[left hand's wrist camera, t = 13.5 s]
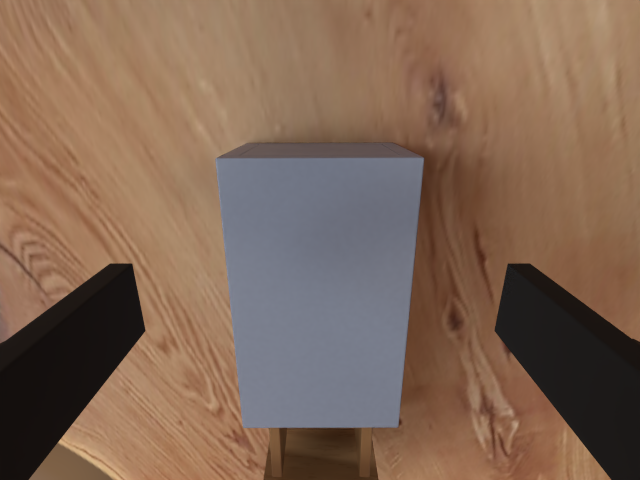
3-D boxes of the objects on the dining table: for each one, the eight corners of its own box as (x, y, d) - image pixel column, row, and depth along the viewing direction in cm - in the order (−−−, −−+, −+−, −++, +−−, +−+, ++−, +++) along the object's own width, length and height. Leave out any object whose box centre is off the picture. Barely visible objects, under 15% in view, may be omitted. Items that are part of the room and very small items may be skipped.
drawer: (367, 480, 36) (376, 551, 31) (274, 480, 36) (265, 551, 31) (379, 280, 28) (394, 325, 23) (261, 280, 29) (246, 325, 23)
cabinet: (379, 351, 32) (398, 427, 24) (261, 351, 32) (242, 428, 24) (393, 142, 26) (424, 157, 18) (246, 143, 26) (215, 158, 18)
